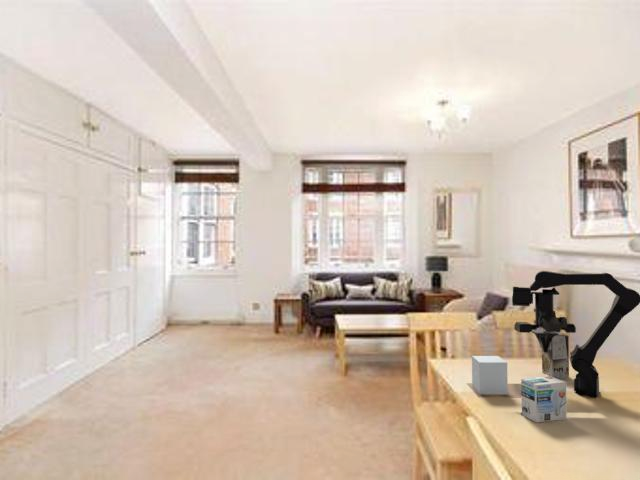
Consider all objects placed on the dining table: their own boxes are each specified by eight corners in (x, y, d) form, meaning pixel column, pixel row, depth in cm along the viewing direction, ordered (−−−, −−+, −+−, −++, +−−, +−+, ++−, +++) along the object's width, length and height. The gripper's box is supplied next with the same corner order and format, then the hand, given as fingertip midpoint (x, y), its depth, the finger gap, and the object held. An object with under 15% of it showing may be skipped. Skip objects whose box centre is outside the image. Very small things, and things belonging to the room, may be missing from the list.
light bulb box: (536, 423, 130) (536, 385, 130) (520, 415, 137) (520, 378, 137) (567, 419, 133) (567, 381, 133) (550, 411, 140) (549, 375, 140)
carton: (498, 386, 161) (498, 355, 161) (507, 394, 152) (507, 362, 152) (472, 386, 161) (471, 355, 161) (479, 394, 152) (479, 362, 152)
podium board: (523, 387, 163) (523, 383, 163) (541, 401, 148) (541, 397, 148) (466, 386, 164) (466, 383, 164) (478, 400, 149) (478, 397, 149)
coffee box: (570, 378, 173) (569, 335, 173) (552, 378, 173) (552, 335, 173) (557, 372, 182) (557, 331, 182) (541, 372, 182) (540, 331, 182)
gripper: (525, 310, 153) (526, 357, 153) (583, 310, 152) (584, 357, 152) (513, 305, 164) (514, 350, 164) (567, 305, 163) (568, 350, 163)
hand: (544, 352), depth 160 cm, fingers closed
